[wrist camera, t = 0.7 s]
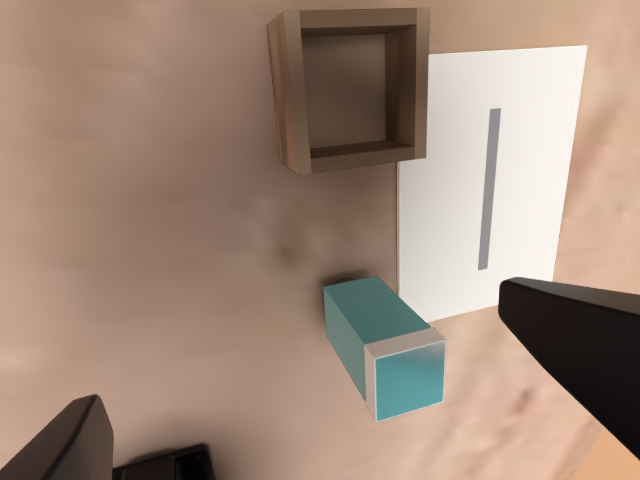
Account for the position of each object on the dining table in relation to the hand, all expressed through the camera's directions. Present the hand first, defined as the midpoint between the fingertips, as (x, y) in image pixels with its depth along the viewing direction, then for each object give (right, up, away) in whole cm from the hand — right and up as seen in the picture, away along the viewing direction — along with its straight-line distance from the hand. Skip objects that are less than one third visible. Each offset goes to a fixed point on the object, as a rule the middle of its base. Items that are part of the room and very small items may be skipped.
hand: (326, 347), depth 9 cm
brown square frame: (+1, +10, +11) cm, 15 cm away
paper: (+10, +5, +16) cm, 20 cm away
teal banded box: (+1, -1, +16) cm, 16 cm away
